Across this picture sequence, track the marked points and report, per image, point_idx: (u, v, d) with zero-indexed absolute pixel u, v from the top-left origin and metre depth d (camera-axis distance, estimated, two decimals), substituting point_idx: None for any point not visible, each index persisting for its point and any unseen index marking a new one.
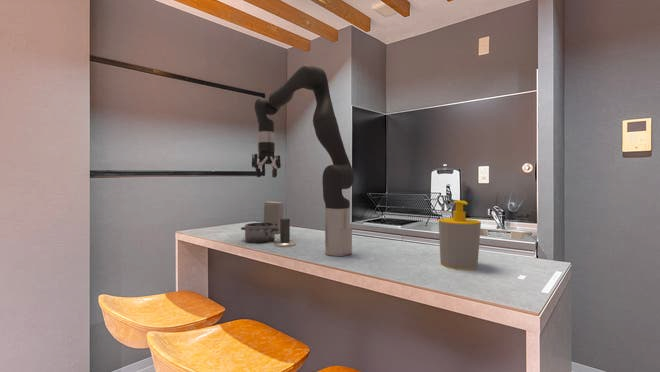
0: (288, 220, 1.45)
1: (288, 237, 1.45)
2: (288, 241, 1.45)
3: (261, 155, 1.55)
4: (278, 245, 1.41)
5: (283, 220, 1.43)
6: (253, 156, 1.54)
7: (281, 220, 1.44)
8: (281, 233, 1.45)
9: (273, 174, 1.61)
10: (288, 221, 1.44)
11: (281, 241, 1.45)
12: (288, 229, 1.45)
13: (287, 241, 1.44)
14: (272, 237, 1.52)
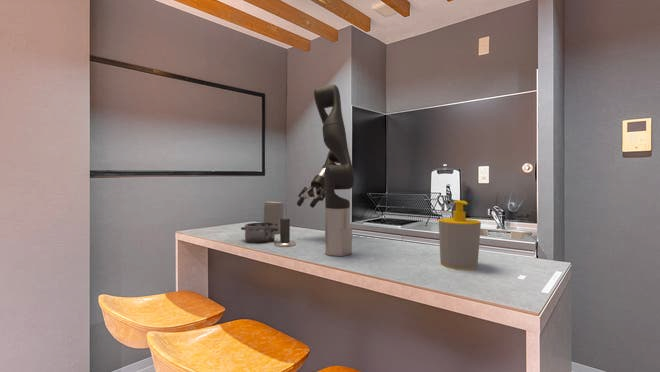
0: (288, 220, 1.45)
1: (288, 237, 1.45)
2: (288, 241, 1.45)
3: (309, 188, 1.60)
4: (278, 245, 1.41)
5: (283, 220, 1.43)
6: None
7: (281, 220, 1.44)
8: (281, 233, 1.45)
9: None
10: (288, 221, 1.44)
11: (281, 241, 1.45)
12: (288, 229, 1.45)
13: (287, 241, 1.44)
14: (272, 237, 1.52)
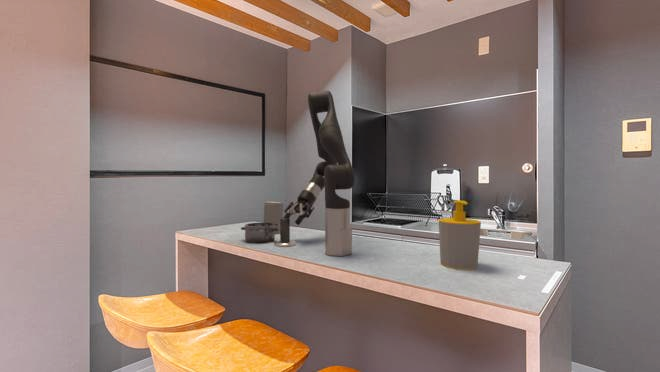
0: (288, 220, 1.45)
1: (288, 237, 1.45)
2: (288, 241, 1.45)
3: (295, 203, 1.54)
4: (278, 245, 1.41)
5: (283, 220, 1.43)
6: None
7: (281, 220, 1.44)
8: (281, 233, 1.45)
9: None
10: (288, 221, 1.44)
11: (281, 241, 1.45)
12: (288, 229, 1.45)
13: (287, 241, 1.44)
14: (272, 237, 1.52)
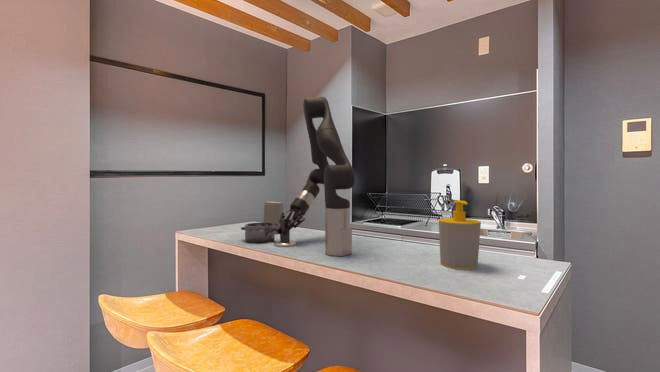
0: (288, 220, 1.45)
1: (288, 237, 1.45)
2: (288, 241, 1.45)
3: (288, 211, 1.51)
4: (278, 245, 1.41)
5: (283, 220, 1.43)
6: None
7: (281, 220, 1.44)
8: (281, 233, 1.45)
9: None
10: (288, 221, 1.45)
11: (281, 241, 1.45)
12: None
13: (287, 241, 1.44)
14: (272, 237, 1.52)
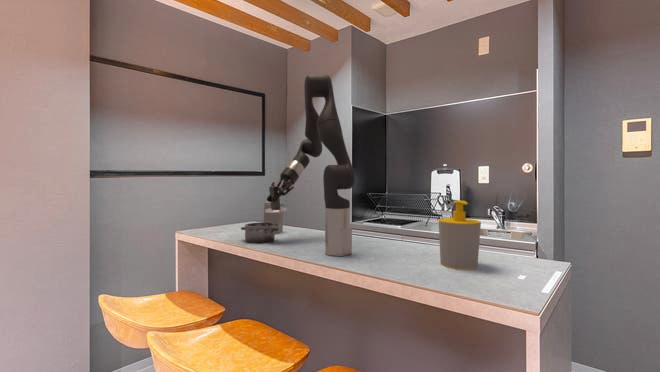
0: (277, 187, 1.48)
1: (278, 204, 1.49)
2: (279, 208, 1.49)
3: (278, 181, 1.54)
4: (269, 212, 1.46)
5: (272, 188, 1.47)
6: None
7: (270, 188, 1.48)
8: (271, 200, 1.49)
9: None
10: (277, 188, 1.48)
11: (272, 208, 1.49)
12: None
13: (278, 208, 1.49)
14: (272, 237, 1.52)
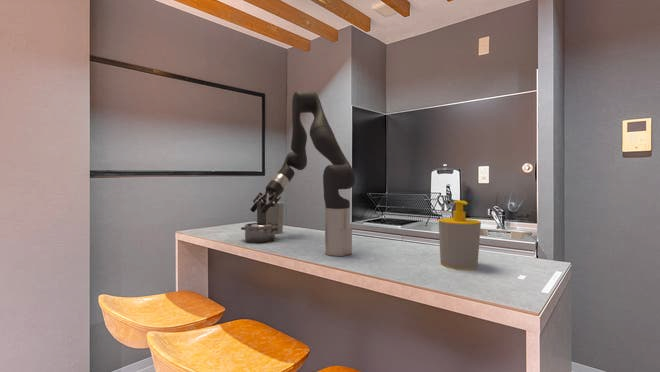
0: (264, 204, 1.54)
1: (264, 220, 1.54)
2: (264, 223, 1.54)
3: (263, 193, 1.59)
4: None
5: (259, 204, 1.53)
6: None
7: (258, 204, 1.53)
8: (258, 216, 1.54)
9: None
10: (264, 204, 1.54)
11: (258, 223, 1.54)
12: None
13: (263, 223, 1.54)
14: (272, 237, 1.52)
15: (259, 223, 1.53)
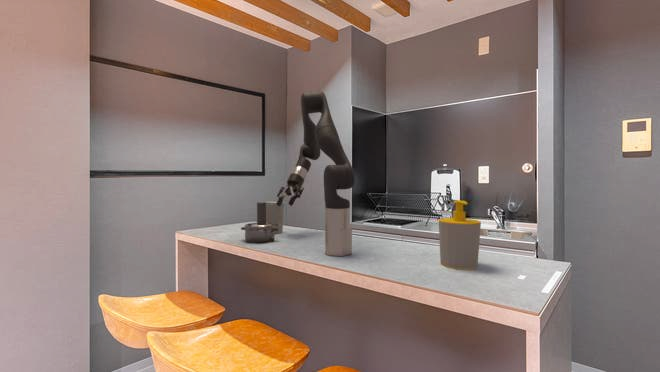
0: (264, 204, 1.54)
1: (264, 220, 1.54)
2: (264, 223, 1.54)
3: (286, 187, 1.67)
4: None
5: (259, 204, 1.53)
6: None
7: (258, 204, 1.53)
8: (258, 216, 1.54)
9: None
10: (264, 204, 1.54)
11: (258, 223, 1.54)
12: (264, 212, 1.54)
13: (263, 223, 1.54)
14: (272, 237, 1.52)
15: (259, 223, 1.53)
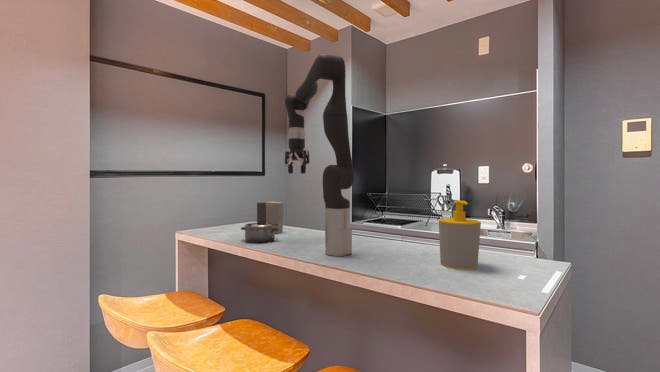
0: (264, 204, 1.54)
1: (264, 220, 1.54)
2: (264, 223, 1.54)
3: (290, 152, 1.60)
4: None
5: (259, 203, 1.53)
6: None
7: (258, 204, 1.53)
8: (258, 216, 1.54)
9: None
10: (264, 204, 1.54)
11: (258, 223, 1.54)
12: (264, 212, 1.54)
13: (263, 223, 1.54)
14: (272, 237, 1.52)
15: (259, 223, 1.53)
